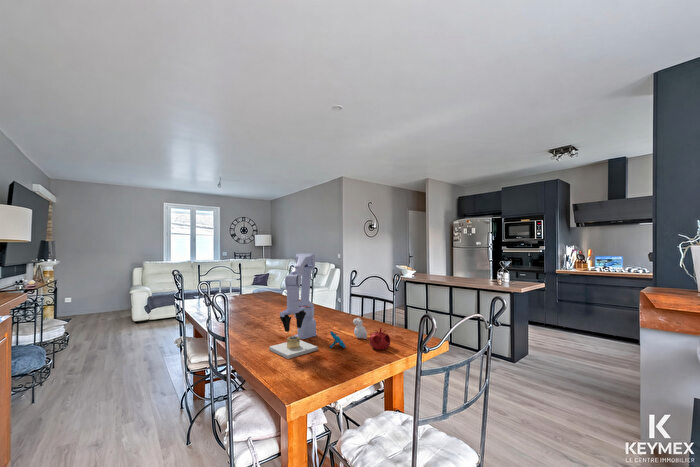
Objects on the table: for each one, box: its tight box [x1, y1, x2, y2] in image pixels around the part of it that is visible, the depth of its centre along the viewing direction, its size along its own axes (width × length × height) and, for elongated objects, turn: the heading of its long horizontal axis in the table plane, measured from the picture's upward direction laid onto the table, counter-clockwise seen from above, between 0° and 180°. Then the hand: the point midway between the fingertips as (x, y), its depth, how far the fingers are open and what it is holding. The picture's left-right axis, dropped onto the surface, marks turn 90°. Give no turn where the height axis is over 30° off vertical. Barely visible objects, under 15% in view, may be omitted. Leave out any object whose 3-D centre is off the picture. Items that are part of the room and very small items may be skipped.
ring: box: [286, 335, 301, 349], centre depth 145 cm, size 6×6×4 cm
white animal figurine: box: [352, 317, 368, 340], centre depth 164 cm, size 12×8×11 cm
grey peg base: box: [268, 335, 319, 360], centre depth 145 cm, size 16×16×6 cm
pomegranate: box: [368, 327, 391, 351], centre depth 147 cm, size 10×10×9 cm
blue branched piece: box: [329, 330, 347, 349], centre depth 148 cm, size 11×6×10 cm
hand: (293, 329), depth 145 cm, fingers open, 7 cm apart
